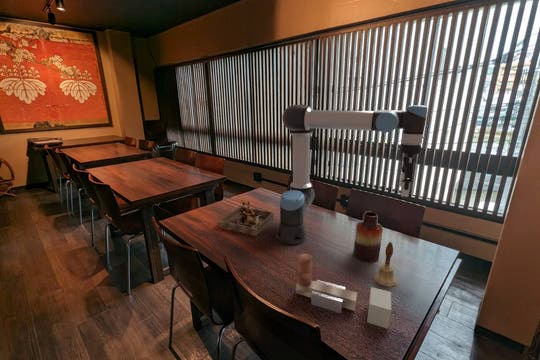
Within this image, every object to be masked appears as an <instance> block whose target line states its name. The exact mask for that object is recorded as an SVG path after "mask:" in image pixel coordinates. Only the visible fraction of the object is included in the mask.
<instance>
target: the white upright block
mask: <svg viewBox="0 0 540 360" xmlns="http://www.w3.org/2000/svg"><path fill="white" fill-rule="evenodd" d="M391 314H392V292H391V291H388V290H384V289H380V288H376V287H372V286H371V287H370V293H369V299H368V309H367V320H366V322H367V324H371V325H374V326H377V327H380V328H384V329H387V330H388V329H389V326H390V320H391V316H392V315H391Z"/></svg>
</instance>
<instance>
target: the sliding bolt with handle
mask: <svg viewBox="0 0 540 360" xmlns="http://www.w3.org/2000/svg"><path fill="white" fill-rule="evenodd" d="M297 257H298V259H297V263H298V264H297V281H296V284H295V294H298V295H301V296H304V297H307V298H310V299H311V296H312V291H315V292H318V293H322V294H325V295H329V296H332V297H336V298H339V299H342V300H343V302H342V309H343V308H344V309H347V310H350V311H354V312H355V311H356V305H357V298H358V292H356V291H353V290H349V289H346V288H345V289H342V288H338V287H335V286H331V285H327V284H324V283H320V282H317V280H313V279H312V278H313V277H312V275H313V256H312V255H311V254H309V253H301V254H299V255H298V256H297Z"/></svg>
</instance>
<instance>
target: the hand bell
mask: <svg viewBox="0 0 540 360" xmlns="http://www.w3.org/2000/svg"><path fill="white" fill-rule="evenodd" d="M393 253H394V245H393V242H391V241H389V242H388V244H387V245H386V247H385V261H384V264H383V263H382V264H381V265H380V267H379V270H378V271H377V272H375V273H374V275H373V279H374V281H375V282H376V283H377V284H379V285H381V286H383V287H390V288H391V287H395V286H396V285H397V284H398V280H397V278H396V277H395V275H394V268H393V267H392V266H391V258H392V256H393Z"/></svg>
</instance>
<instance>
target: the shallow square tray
mask: <svg viewBox="0 0 540 360" xmlns="http://www.w3.org/2000/svg"><path fill="white" fill-rule="evenodd" d="M242 206H243V205H240V206H239V207H237V208H236V209H235V210H233V211H231V212H230V213H229V214H228V215H226V216H225V217H224V218H222V219H221V220H219V221H218V224H219V228H220V227H222V228H226V229H230V230H234V231H233V232H235V231H238V232H237V233H239V232H243V233H242V234H244V233H247V234H246V235H248V234H250V235H249V236H253V235H255V236H254V237H258V236H259V235H260V234H261V233H262V232H263V231H264V230H265V229H266V228H267V227H266V226H267V225H268V226H269V225H270V223H272V221H273V220H274V219H275V212H274V211H271V210H270V211H269V210H264V209H259V208H253V207H250V208H251V209H252V210H253V212H254V213H255V215H261V216H265V217H264V220H263V221H261V223H260V224H259V226H257V227H256V228H252V227H247V226H243V225H238V224H237V223H232V222H231V221H232V220H231V219H232V218H234V217H235V216H236V215H238V214H239V213H240V212H242V210H244V209H243V208H242ZM239 215H240V214H239ZM239 215H238V216H239ZM261 216H260V217H261ZM266 217H267V218H266ZM235 218H236V217H235ZM235 218H234V219H235ZM273 218H274V219H273ZM272 219H273V220H272ZM230 220H231V221H230ZM229 221H230V222H229ZM265 227H266V228H265ZM222 228H221V229H222ZM264 228H265V229H264ZM226 229H225V230H226ZM263 229H264V230H263ZM230 230H229V231H230ZM262 230H263V231H262ZM261 231H262V232H261ZM260 232H261V233H260ZM259 233H260V234H259ZM258 234H259V235H258ZM257 235H258V236H257Z"/></svg>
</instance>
